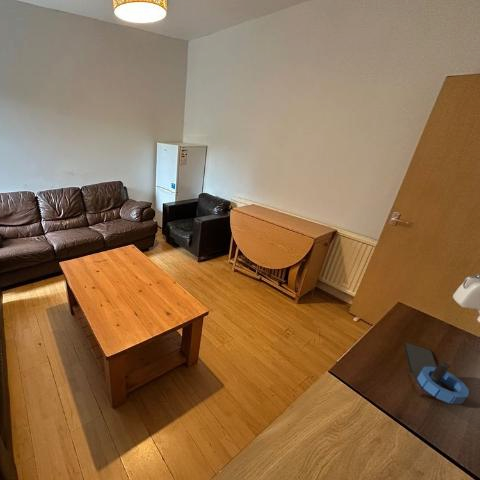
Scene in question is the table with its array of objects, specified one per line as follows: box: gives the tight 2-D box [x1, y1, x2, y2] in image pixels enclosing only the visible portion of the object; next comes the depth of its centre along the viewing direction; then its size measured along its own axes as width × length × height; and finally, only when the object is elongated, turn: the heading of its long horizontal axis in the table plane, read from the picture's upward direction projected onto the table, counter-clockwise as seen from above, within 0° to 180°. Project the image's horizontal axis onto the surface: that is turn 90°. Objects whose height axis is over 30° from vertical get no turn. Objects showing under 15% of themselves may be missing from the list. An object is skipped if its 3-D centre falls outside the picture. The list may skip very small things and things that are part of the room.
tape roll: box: [417, 367, 470, 405], centre depth 72 cm, size 9×10×3 cm
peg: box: [407, 360, 452, 405], centre depth 72 cm, size 7×7×10 cm
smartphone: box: [403, 342, 444, 384], centre depth 82 cm, size 7×1×15 cm
